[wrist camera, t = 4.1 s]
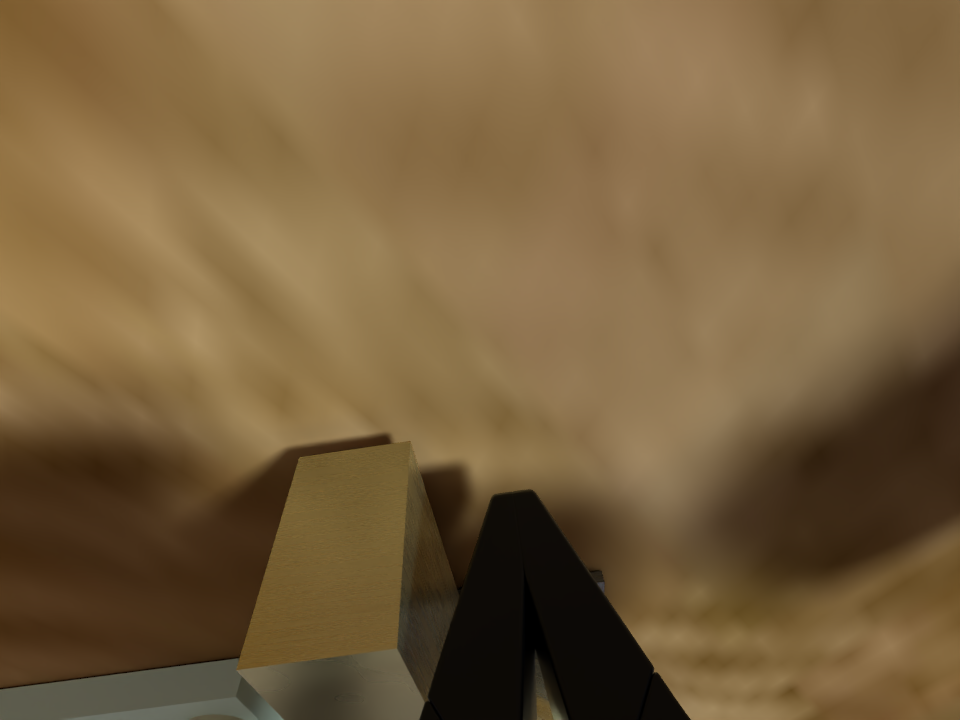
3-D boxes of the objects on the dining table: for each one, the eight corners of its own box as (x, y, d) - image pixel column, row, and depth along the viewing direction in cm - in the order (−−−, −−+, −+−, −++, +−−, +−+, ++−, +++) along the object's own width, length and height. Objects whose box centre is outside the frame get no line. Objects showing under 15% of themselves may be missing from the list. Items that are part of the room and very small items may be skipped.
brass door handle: (559, 717, 17) (584, 864, 14) (381, 740, 17) (370, 890, 14) (522, 424, 9) (561, 626, 6) (189, 473, 9) (78, 690, 6)
